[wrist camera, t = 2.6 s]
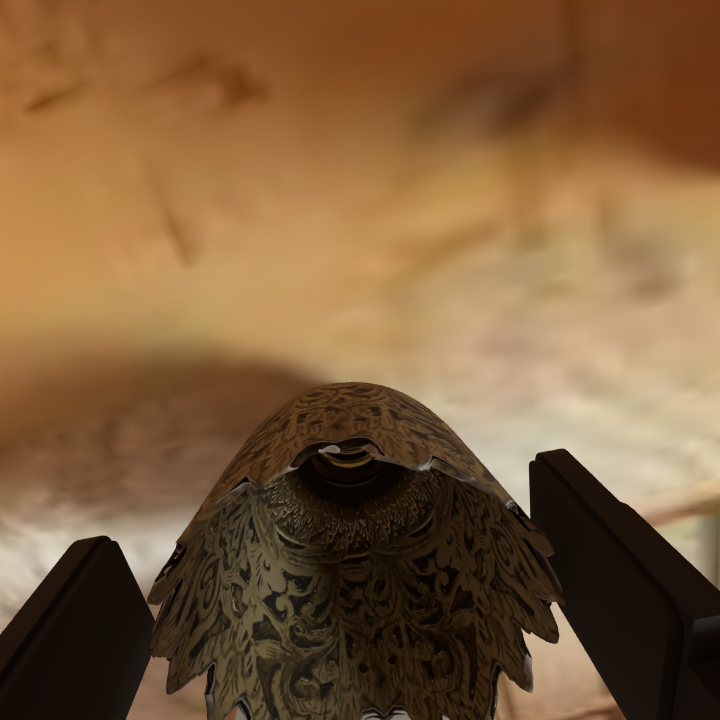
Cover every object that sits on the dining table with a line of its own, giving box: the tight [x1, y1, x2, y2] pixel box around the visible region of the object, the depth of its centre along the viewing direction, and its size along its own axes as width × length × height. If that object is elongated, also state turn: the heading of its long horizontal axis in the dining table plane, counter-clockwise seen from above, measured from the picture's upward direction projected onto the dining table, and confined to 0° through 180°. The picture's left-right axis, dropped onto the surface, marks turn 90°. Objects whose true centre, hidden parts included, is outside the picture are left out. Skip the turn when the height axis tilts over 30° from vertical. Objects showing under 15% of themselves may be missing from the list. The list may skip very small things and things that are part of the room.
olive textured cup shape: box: [147, 382, 566, 720], centre depth 11 cm, size 8×7×8 cm
